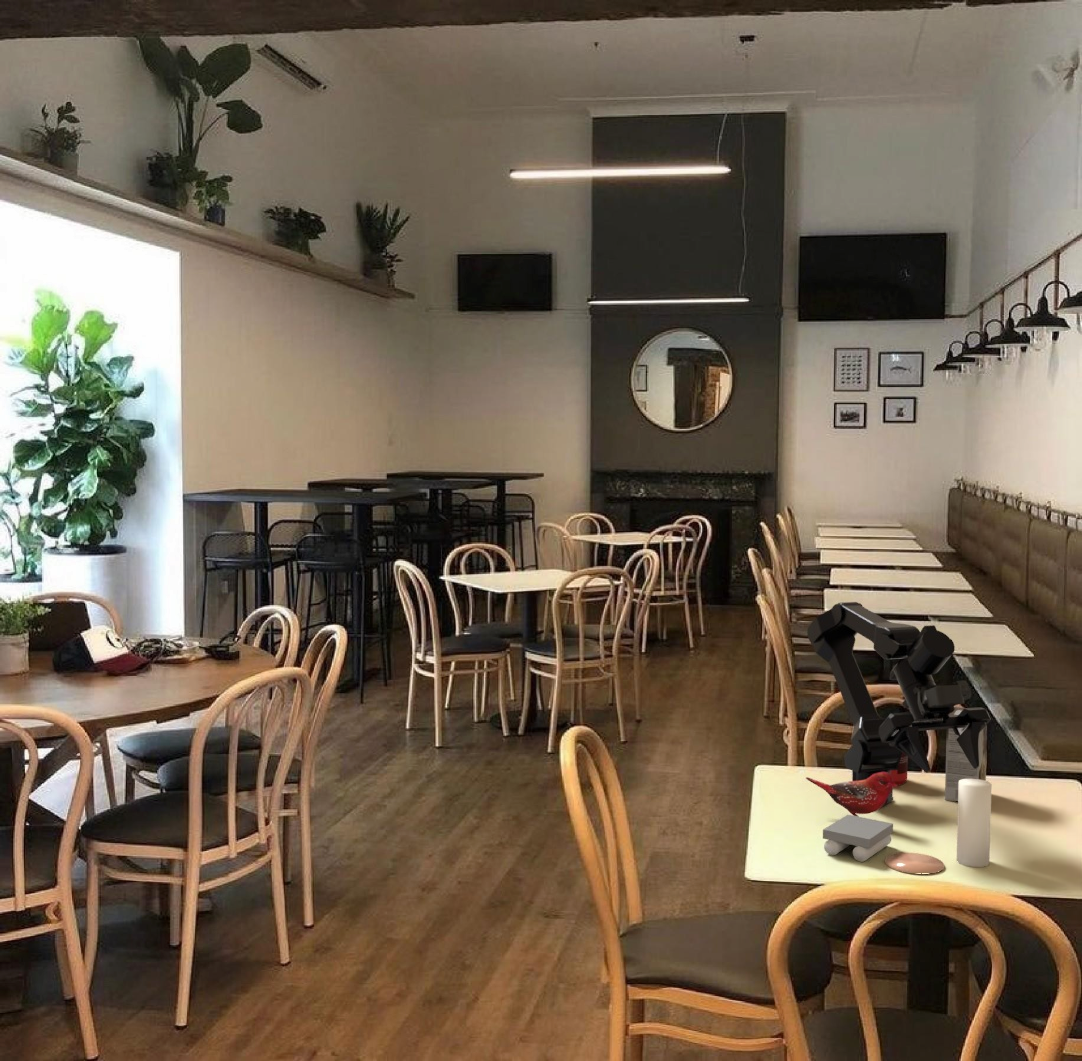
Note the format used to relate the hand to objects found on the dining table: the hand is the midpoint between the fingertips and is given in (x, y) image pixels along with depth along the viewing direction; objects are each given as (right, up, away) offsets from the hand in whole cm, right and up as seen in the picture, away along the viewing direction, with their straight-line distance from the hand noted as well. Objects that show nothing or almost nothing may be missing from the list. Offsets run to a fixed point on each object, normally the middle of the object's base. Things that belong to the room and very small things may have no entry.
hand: (952, 769), depth 204 cm
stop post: (+1, -14, -7) cm, 15 cm away
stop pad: (-9, -14, -8) cm, 18 cm away
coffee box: (+12, -11, +29) cm, 33 cm away
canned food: (0, -10, +40) cm, 41 cm away
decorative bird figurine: (-14, -12, +15) cm, 23 cm away
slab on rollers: (-16, -13, -1) cm, 21 cm away
